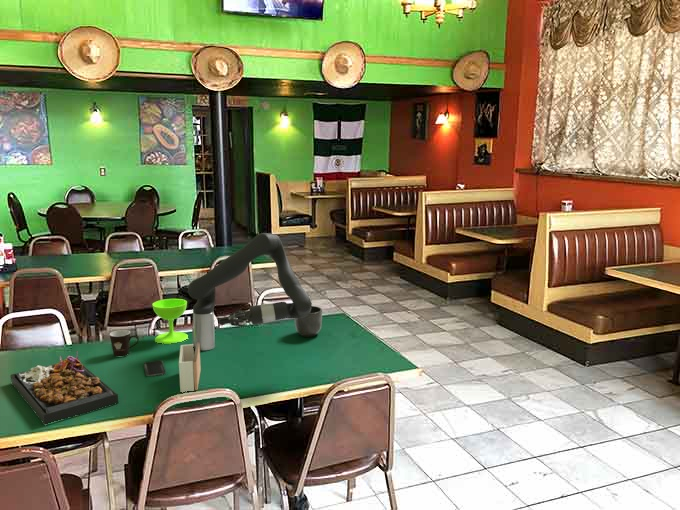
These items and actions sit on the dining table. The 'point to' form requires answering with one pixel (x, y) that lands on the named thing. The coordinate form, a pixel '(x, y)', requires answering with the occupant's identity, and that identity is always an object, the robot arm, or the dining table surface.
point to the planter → (310, 323)
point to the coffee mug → (121, 342)
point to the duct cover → (197, 366)
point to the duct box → (186, 368)
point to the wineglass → (170, 319)
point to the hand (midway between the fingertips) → (219, 321)
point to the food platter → (63, 390)
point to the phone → (154, 368)
